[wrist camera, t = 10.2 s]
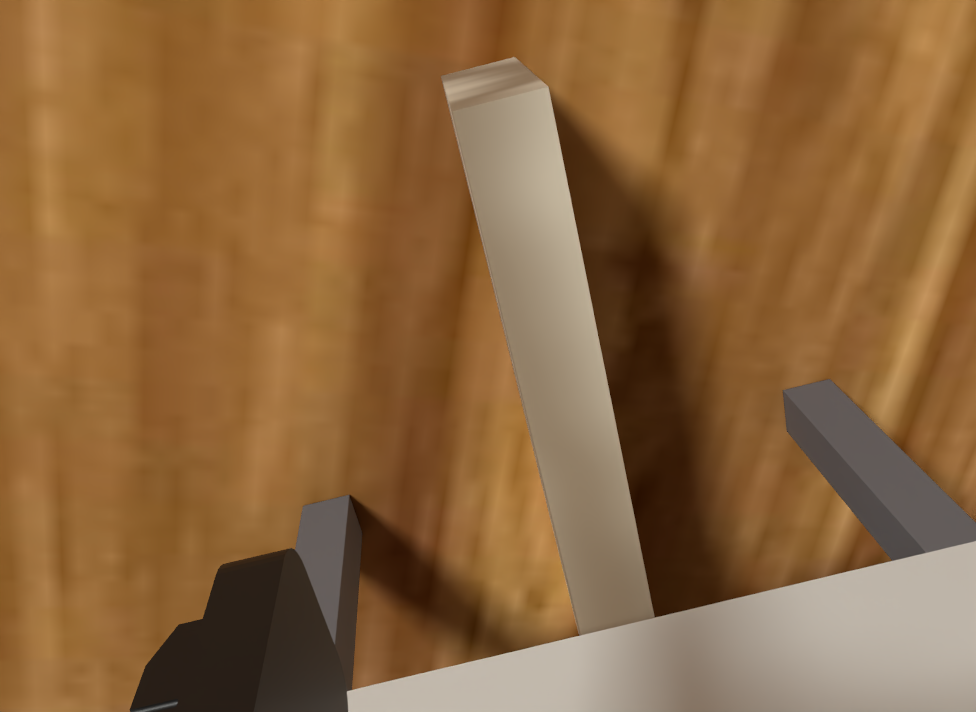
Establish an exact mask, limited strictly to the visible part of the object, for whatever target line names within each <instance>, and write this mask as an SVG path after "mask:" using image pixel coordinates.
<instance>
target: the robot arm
mask: <svg viewBox="0 0 976 712" xmlns="http://www.w3.org/2000/svg"><path fill="white" fill-rule="evenodd" d="M130 712H348V698H347V690H346V683H345V678H344V673H343V669H342V665H341V661H340V658H339V655H338V652H337V650H336V647H335V645H334V642H333V639H332V637H331V634H330V631H329V629H328V626H327V624H326V621H325V618H324V616H323V613H322V611H321V608H320V605H319V603H318V600H317V597H316V595H315V592H314V590H313V587H312V584H311V582H310V579H309V577H308V574H307V571H306V569H305V566H304V564H303V561H302V559H301V558H300V556H299V554H298V553H297V552H296V551H295V550H294V549H292V548H291V549H286V550H282V551H277V552H273V553H269V554H264V555H260V556H256V557H252V558H247V559H243V560H239V561H235V562H230V563H226V564H223V565H221V566H220V568H219V569H218V571H217V574H216V577H215V580H214V583H213V587H212V590H211V593H210V597H209V600H208V603H207V607H206V610H205V613H204V617H203V619H201V620H197V621H192V622H188V623H184V624H179V625H178V626H177V627H176V629H175V630H174V631H173V632H172V634H171V635H170V636H169V637H168V639H167V640H166V641H165V642H164V644H163V645H162V646H161V647H160V649H159V650H158V651H157V652H156V654H155V655H154V656H153V657H152V659H151V660H150V661H149V662H148V664H147V665H146V666H145V669H144V672H143V675H142V677H141V680H140V683H139V686H138V688H137V691H136V694H135V697H134V699H133V702H132V705H131V708H130Z"/></svg>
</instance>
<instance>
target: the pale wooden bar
mask: <svg viewBox="0 0 976 712" xmlns="http://www.w3.org/2000/svg"><path fill="white" fill-rule="evenodd" d="M441 79H442V83H443V87H444V91H445V95H446V99H447V103H448V107H449V111H450V115H451V119H452V123H453V127H454V131H455V135H456V139H457V143H458V147H459V151H460V155H461V159H462V164H463V168H464V172H465V176H466V180H467V184H468V188H469V192H470V196H471V200H472V204H473V208H474V212H475V216H476V220H477V224H478V228H479V232H480V236H481V240H482V244H483V248H484V252H485V256H486V261H487V265H488V269H489V273H490V277H491V281H492V285H493V289H494V293H495V297H496V301H497V305H498V309H499V313H500V317H501V321H502V325H503V329H504V333H505V337H506V341H507V345H508V349H509V353H510V358H511V362H512V366H513V370H514V374H515V378H516V382H517V386H518V390H519V394H520V398H521V402H522V406H523V410H524V414H525V418H526V422H527V426H528V430H529V434H530V438H531V442H532V446H533V450H534V455H535V459H536V463H537V467H538V471H539V475H540V479H541V483H542V487H543V491H544V495H545V499H546V503H547V507H548V511H549V515H550V519H551V523H552V527H553V531H554V535H555V539H556V543H557V547H558V551H559V556H560V560H561V564H562V568H563V572H564V576H565V580H566V584H567V588H568V592H569V596H570V600H571V604H572V608H573V612H574V616H575V620H576V624H577V628H578V632H579V636H581V635H585V634H589V633H593V632H597V631H601V630H606V629H610V628H614V627H618V626H622V625H627V624H631V623H635V622H639V621H643V620H648V619H652V618H655V617H654V612H653V607H652V602H651V597H650V592H649V587H648V582H647V577H646V572H645V567H644V562H643V557H642V552H641V547H640V542H639V537H638V532H637V527H636V522H635V517H634V512H633V507H632V502H631V497H630V492H629V487H628V482H627V477H626V472H625V467H624V462H623V457H622V452H621V447H620V442H619V437H618V432H617V427H616V422H615V417H614V412H613V407H612V402H611V397H610V392H609V387H608V382H607V377H606V372H605V367H604V362H603V357H602V352H601V347H600V342H599V337H598V332H597V327H596V322H595V317H594V312H593V307H592V302H591V297H590V292H589V287H588V282H587V277H586V272H585V267H584V262H583V257H582V252H581V247H580V242H579V237H578V232H577V227H576V222H575V217H574V212H573V207H572V202H571V197H570V192H569V187H568V182H567V177H566V172H565V167H564V162H563V157H562V152H561V147H560V142H559V137H558V132H557V127H556V122H555V117H554V113H553V108H552V103H551V98H550V93H549V88H548V86H547V85H546V84H545V83H544V82H542V81H541V80H540V79H539V78H538V77H537V76H536V75H534V74H533V73H532V72H531V71H530V70H529V69H528V68H527V67H525V66H524V65H523V64H522V63H521V62H520V61H519V60H518V59H516V58H515V57H513V58H510V59H506V60H502V61H498V62H494V63H490V64H486V65H482V66H478V67H474V68H471V69H467V70H463V71H459V72H455V73H451V74H447V75H443V76H441Z"/></svg>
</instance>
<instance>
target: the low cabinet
mask: <svg viewBox="0 0 976 712" xmlns="http://www.w3.org/2000/svg"><path fill="white" fill-rule="evenodd" d="M783 396H784V406H785V417H786V427H787V432H788V433H789V434H790V436H791V437H792V438H793V439H794V440H795V442H796V443H797V444H798V445H799V447H800V448H801V449H802V450H803V451H804V453H805V454H806V455H807V456H808V458H809V459H810V460H811V461H812V463H813V464H814V465H815V466H816V467H817V469H818V470H819V471H820V472H821V474H822V475H823V476H824V477H825V478H826V480H827V481H828V482H829V483H830V485H831V486H832V487H833V488H834V490H835V491H836V492H837V493H838V494H839V496H840V497H841V498H842V499H843V501H844V502H845V503H846V504H847V505H848V507H849V508H850V509H851V510H852V512H853V513H854V514H855V515H856V517H857V518H858V519H859V520H860V521H861V523H862V524H863V525H864V526H865V528H866V529H867V530H868V531H869V532H870V534H871V535H872V536H873V537H874V539H875V540H876V541H877V542H878V543H879V545H880V546H881V547H882V548H883V550H884V551H885V552H886V553H887V555H888V556H889V557H890V558H891V559H892V561H890V562H886V563H882V564H878V565H874V566H869V567H865V568H861V569H857V570H853V571H848V572H844V573H840V574H836V575H832V576H828V577H823V578H819V579H815V580H811V581H807V582H802V583H798V584H794V585H790V586H786V587H782V588H777V589H773V590H769V591H765V592H761V593H756V594H752V595H748V596H744V597H740V598H735V599H731V600H727V601H723V602H719V603H715V604H710V605H706V606H702V607H698V608H694V609H689V610H685V611H681V612H677V613H673V614H668V615H664V616H660V617H656V618H652V619H648V620H643V621H639V622H635V623H631V624H627V625H622V626H618V627H614V628H610V629H606V630H601V631H597V632H593V633H589V634H585V635H581V636H576V637H572V638H568V639H564V640H560V641H555V642H551V643H547V644H543V645H539V646H534V647H530V648H526V649H522V650H518V651H514V652H509V653H505V654H501V655H497V656H493V657H488V658H484V659H480V660H476V661H472V662H467V663H463V664H459V665H455V666H451V667H447V668H442V669H438V670H434V671H430V672H426V673H421V674H417V675H413V676H409V677H405V678H400V679H396V680H392V681H388V682H384V683H380V684H375V685H371V686H367V687H363V688H359V689H354V690H352V680H353V665H354V651H355V636H356V621H357V606H358V591H359V576H360V561H361V547H362V531H361V528H360V525H359V522H358V519H357V516H356V513H355V510H354V507H353V504H352V502H351V499H350V496H349V495H347V496H343V497H339V498H335V499H330V500H326V501H322V502H318V503H314V504H310V505H306V506H303V509H302V515H301V520H300V526H299V531H298V537H297V543H296V548H295V551H296V552H297V553H298V554H299V556H300V558H301V559H302V561H303V564H304V566H305V569H306V571H307V574H308V577H309V579H310V582H311V584H312V587H313V590H314V592H315V595H316V597H317V600H318V603H319V605H320V608H321V611H322V613H323V616H324V618H325V621H326V624H327V626H328V629H329V631H330V634H331V637H332V639H333V642H334V645H335V647H336V650H337V652H338V655H339V658H340V661H341V665H342V669H343V673H344V678H345V683H346V690H347V698H348V712H976V523H975V522H974V521H973V520H972V519H971V518H970V517H969V516H968V515H967V514H966V513H965V512H964V511H963V510H962V509H961V508H960V507H959V506H958V505H957V504H956V503H955V502H954V501H953V500H952V499H951V498H950V497H949V496H948V495H947V494H946V493H945V492H944V491H943V490H942V489H941V488H940V487H939V486H938V485H937V484H936V483H935V482H934V481H933V480H932V479H931V478H930V477H929V476H928V475H927V474H926V473H925V472H924V471H923V470H922V469H921V468H920V467H919V466H918V465H916V464H915V463H914V462H913V461H912V460H911V459H910V458H909V457H908V456H907V455H906V454H905V453H904V452H903V451H902V450H901V449H900V448H899V447H898V446H897V445H896V444H895V443H894V442H893V441H892V440H891V439H890V438H889V437H888V436H887V435H886V434H885V433H884V432H883V431H882V430H881V429H880V428H879V427H878V426H877V425H876V424H875V423H874V422H873V421H872V420H871V419H870V418H869V417H868V416H867V415H866V414H865V413H864V412H863V411H862V410H861V409H860V408H859V407H857V406H856V405H855V404H854V403H853V402H852V401H851V400H850V399H849V398H848V397H847V396H846V395H845V394H844V393H843V392H842V391H841V390H840V389H839V388H838V387H837V386H836V385H835V384H834V383H833V382H832V381H831V380H830V379H828V380H824V381H820V382H816V383H811V384H807V385H803V386H799V387H795V388H791V389H787V390H783Z"/></svg>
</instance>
